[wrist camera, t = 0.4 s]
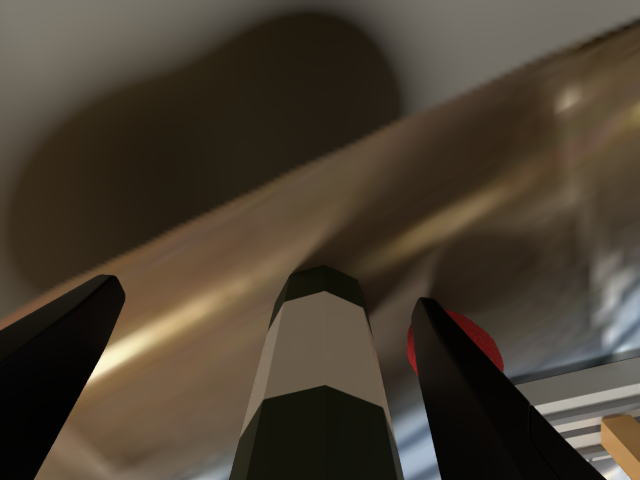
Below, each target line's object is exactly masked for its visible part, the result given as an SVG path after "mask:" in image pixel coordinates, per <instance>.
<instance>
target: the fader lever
mask: <svg viewBox="0 0 640 480" xmlns="http://www.w3.org/2000/svg"><path fill="white" fill-rule="evenodd" d="M601 444H602V446H603V447H604V448H605V449H606V450H607V452H608V453H609V454H610V455H611V456H612V458H613V459H614V460H615V461H616V462H617V463H618V465H619V466H620V467H621V468H622V469H623V471H624V472H625V473H626V474H627V475H628V476H629V478H630V479H631V480H640V424H639V423H638V422H637V421H636V420H635V419H634V418H633V417H632V416H631V415H630V414H629V415H624V416H619V417H614V418H609V419H604V420H601Z"/></svg>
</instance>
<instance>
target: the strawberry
mask: <svg viewBox="0 0 640 480" xmlns="http://www.w3.org/2000/svg"><path fill="white" fill-rule="evenodd" d="M444 310H445V311H446V312H447V313H448V314H449V315H450V316H451V317H452V318H453V319H454V321H455V322H456V323H457V324H458V325H459V326H460V327H461V328H462V329H463V330H464V331H465V332H466V334H467V335H468V336H469V337H470V338H471V339H472V340H473V341H474V342H475V343H476V344H477V345H478V347H479V348H480V349H481V350H482V351H483V352H484V353H485V354H486V355H487V356H488V357H489V358H490V359H491V361H492V362H493V363H494V364H495V365H496V366H497V367H498V368H499V369H500V370H501V371H502V372H503V369H504V364H503V360H502V357H501V355H500V353H499V350H498V348H497V346H496V344H495V342H494V340H493V339H492V338H491V337H490V335H489V334H488V333H486V332H485V331H484V330H483V329H481V328H480V327H479V326H478V325H476V324H475V323H474V322H472V321H471V320H470V319H468V318H467V317H465V316H463V315H461V314H458V313H455V312H452V311H449V310H446V309H444ZM407 354H408V358H409V361H410V363H411V365H412V367H413V368H414V370H415V372H416V373H417V367H416V359H415V349H414V340H413V331H412V324H411V325H410V328H409V330H408V335H407ZM503 374H504V372H503ZM417 375H418V373H417Z"/></svg>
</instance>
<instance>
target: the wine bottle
mask: <svg viewBox="0 0 640 480" xmlns="http://www.w3.org/2000/svg"><path fill="white" fill-rule="evenodd" d="M229 480H404V476H403V472H402V467H401V463H400V458H399V454H398V449H397V445H396V440H395V436H394V431H393V426H392V422H391V417H390V413H389V408H388V404H387V399H386V395H385V390H384V386H383V381H382V376H381V372H380V367H379V363H378V358H377V354H376V349H375V345H374V340H373V336H372V331H371V327H370V322H369V317H368V313H367V309H366V306H365V302H364V299H363V296H362V293H361V290H360V287H359V284H358V281H357V280H356V279H354V278H352V277H350V276H348V275H345V274H343V273H341V272H339V271H337V270H335V269H332V268H330V267H328V266H326V265H323V266H320V267H316V268H313V269H309V270H306V271H302V272H299V273H295V274H292V275H290V276H289V278H288V280H287V282H286V283H285V285H284V287H283V289H282V291H281V293H280V295H279V297H278V298H277V300H276V302H275V306H274V309H273V313H272V317H271V321H270V325H269V328H268V332H267V336H266V340H265V344H264V348H263V351H262V355H261V359H260V363H259V367H258V371H257V374H256V378H255V382H254V386H253V390H252V393H251V397H250V401H249V405H248V409H247V413H246V416H245V420H244V424H243V428H242V432H241V436H240V439H239V443H238V447H237V451H236V455H235V458H234V462H233V466H232V470H231V474H230V478H229Z"/></svg>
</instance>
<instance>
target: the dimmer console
mask: <svg viewBox="0 0 640 480" xmlns="http://www.w3.org/2000/svg"><path fill="white" fill-rule="evenodd" d="M515 387H516V388H517V389H518V390H519V391H520V392H521V393H522V394H523V395H524V396H525V397H526V398H527V400H528V401H529V402H530V405H533V406H534V407H535V408H536V409H537V410H538V411H539V412H540V413H541V414H542V416H543V417H544V418H545V419H546V420H547V421H548V422H549V423H550V424H551V425H552V426H553V427H554V428H555V429H556V430H557V431H558V432H559V433H560V434H561V436H562V437H563V438H564V439H565V440H566V441H567V442H568V443H569V444H570V445H571V446H572V447H573V448H574V449H575V450H576V451H577V452H578V453H580V454H581V455H582V456H583V457H584V458H585V459H586V460H587V461H588V462H591V461H595V460H601V459H606V458H611V457H612V456H611V455H610V454H609V453H608V452H607V450H606V449H605V448H604V447H603V446H602V444H601V420H604V419H609V418H614V417H619V416H624V415H629V414H630V415H631V416H632V417H633V418H634V419H635V420H636V421H637V422H638V423H639V424H640V357H636V358H632V359H628V360H623V361H619V362H614V363H610V364H606V365H601V366H597V367H593V368H588V369H584V370H579V371H575V372H571V373H566V374H562V375H558V376H553V377H549V378H544V379H540V380H536V381H531V382H527V383H523V384H518V385H515Z"/></svg>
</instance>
